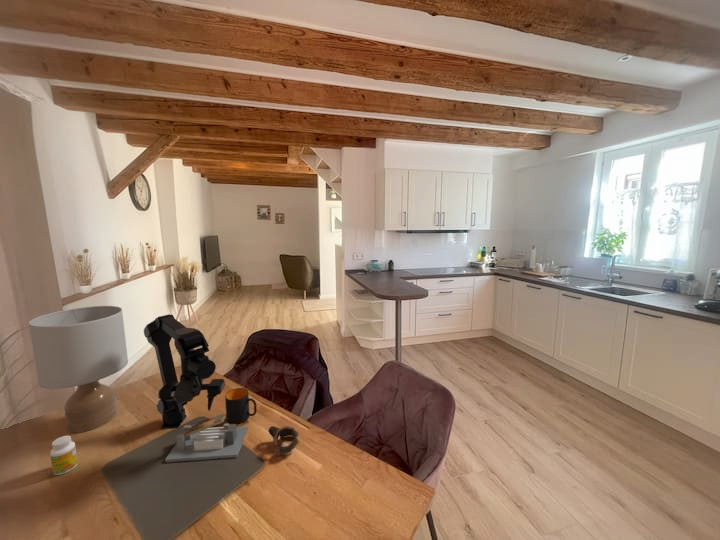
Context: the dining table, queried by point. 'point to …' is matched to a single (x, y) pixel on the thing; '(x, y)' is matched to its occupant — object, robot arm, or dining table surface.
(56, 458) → the supplement bottle
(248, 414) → the mug
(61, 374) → the lamp
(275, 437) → the vr controller
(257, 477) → the dining table surface
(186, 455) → the board
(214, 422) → the strap
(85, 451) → the dining table surface
